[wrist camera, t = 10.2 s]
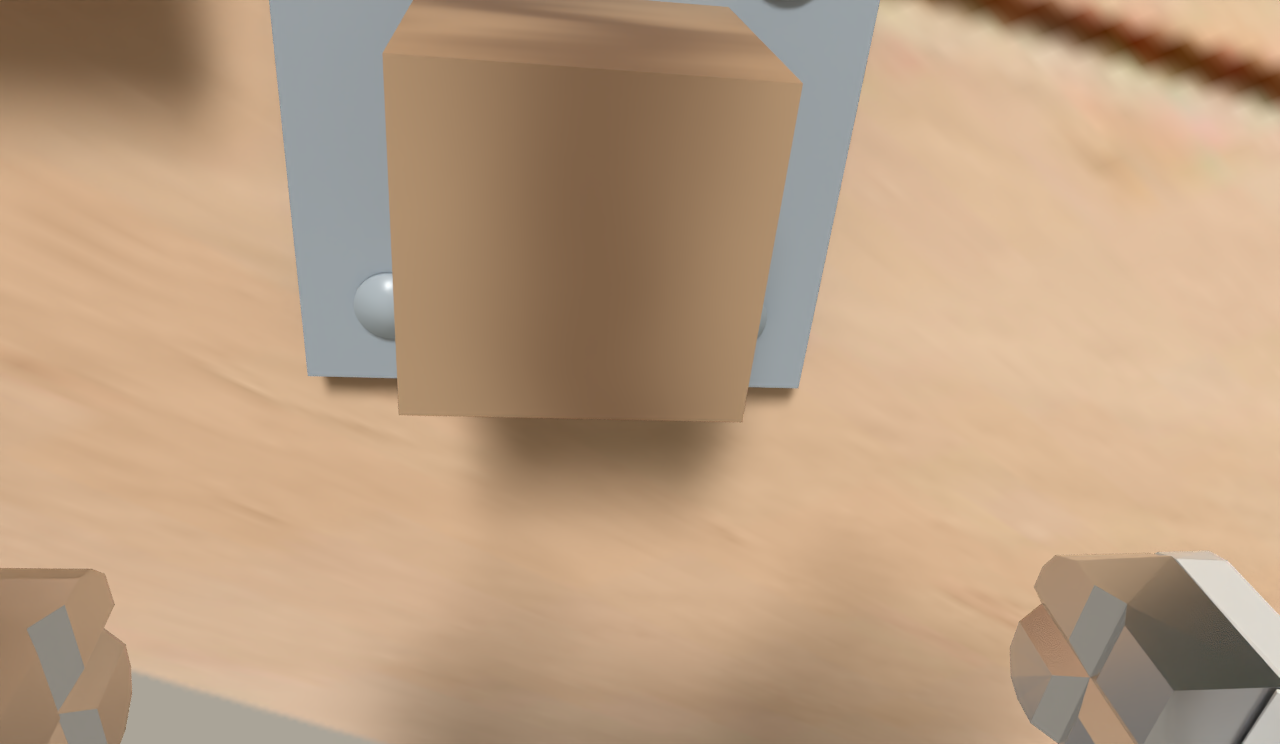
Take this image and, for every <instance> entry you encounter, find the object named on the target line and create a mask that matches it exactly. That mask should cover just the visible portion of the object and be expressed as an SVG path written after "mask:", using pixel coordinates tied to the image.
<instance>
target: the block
mask: <svg viewBox="0 0 1280 744" xmlns="http://www.w3.org/2000/svg"><path fill="white" fill-rule="evenodd" d="M382 56H383V78H384V100H385V122H386V144H387V166H388V188H389V211H390V233H391V255H392V277H393V299H394V321H395V343H396V365H397V387H398V409H399V415H417V416H465V417H513V418H561V419H608V420H656V421H704V422H742V420H743V414H744V409H745V403H746V397H747V392H748V386H749V381H750V375H751V370H752V364H753V359H754V353H755V347H756V342H757V336H758V331H759V325H760V320H761V314H762V309H763V303H764V297H765V292H766V286H767V281H768V275H769V270H770V264H771V259H772V253H773V247H774V242H775V236H776V231H777V225H778V220H779V214H780V209H781V203H782V197H783V192H784V186H785V181H786V175H787V170H788V164H789V159H790V153H791V147H792V142H793V136H794V131H795V125H796V120H797V114H798V109H799V103H800V97H801V92H802V86H803V83H802V82H801V81H800V80H799V79H798V78H797V77H796V76H795V75H794V74H793V73H792V72H791V71H790V70H789V68H788V67H787V66H786V65H785V64H784V63H783V62H782V61H781V60H780V59H779V58H778V57H777V56H776V55H775V54H774V53H773V52H772V51H771V50H770V49H769V48H768V47H767V46H766V45H765V44H764V43H763V42H762V41H761V40H760V39H759V38H758V37H757V36H756V35H755V34H754V33H753V32H752V31H751V30H750V28H749V27H748V26H747V25H746V24H745V23H744V22H743V21H742V20H741V19H740V18H739V17H738V16H737V15H736V14H735V13H734V12H733V11H732V10H731V9H730V8H729V7H722V6H710V5H698V4H686V3H674V2H661V1H649V0H413V1H412V3H411V5H410V6H409V8H408V10H407V11H406V13H405V15H404V17H403V18H402V20H401V22H400V24H399V25H398V27H397V29H396V31H395V32H394V34H393V36H392V37H391V39H390V41H389V43H388V44H387V46H386V48H385V50H384V51H383V53H382Z"/></svg>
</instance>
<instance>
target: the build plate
mask: <svg viewBox="0 0 1280 744" xmlns="http://www.w3.org/2000/svg"><path fill="white" fill-rule="evenodd" d="M412 1H413V0H269V5H270V14H271V24H272V34H273V43H274V53H275V63H276V72H277V82H278V91H279V101H280V111H281V120H282V130H283V140H284V149H285V159H286V169H287V178H288V188H289V198H290V207H291V217H292V227H293V236H294V246H295V256H296V265H297V275H298V285H299V294H300V304H301V314H302V323H303V333H304V343H305V352H306V362H307V372H308V376H328V377H368V378H397V365H396V343H395V321H394V299H393V277H392V255H391V233H390V211H389V188H388V166H387V144H386V122H385V100H384V78H383V56H382V53H383V51H384V50H385V48H386V46H387V44H388V43H389V41H390V39H391V37H392V36H393V34H394V32H395V31H396V29H397V27H398V25H399V24H400V22H401V20H402V18H403V17H404V15H405V13H406V11H407V10H408V8H409V6H410V5H411V3H412ZM649 1H661V2H674V3H686V4H698V5H710V6H722V7H729V8H730V9H731V10H732V11H733V12H734V13H735V14H736V15H737V16H738V17H739V18H740V19H741V20H742V21H743V22H744V23H745V24H746V25H747V26H748V27H749V28H750V30H751V31H752V32H753V33H754V34H755V35H756V36H757V37H758V38H759V39H760V40H761V41H762V42H763V43H764V44H765V45H766V46H767V47H768V48H769V49H770V50H771V51H772V52H773V53H774V54H775V55H776V56H777V57H778V58H779V59H780V60H781V61H782V62H783V63H784V64H785V65H786V66H787V67H788V68H789V70H790V71H791V72H792V73H793V74H794V75H795V76H796V77H797V78H798V79H799V80H800V81H801V82H802V83H803V86H802V92H801V97H800V103H799V109H798V114H797V120H796V125H795V131H794V136H793V142H792V147H791V153H790V159H789V164H788V170H787V175H786V181H785V186H784V192H783V197H782V203H781V209H780V214H779V220H778V225H777V231H776V236H775V242H774V247H773V253H772V259H771V264H770V270H769V275H768V281H767V286H766V292H765V297H764V303H763V309H762V314H761V320H760V325H759V331H758V336H757V342H756V347H755V353H754V359H753V364H752V370H751V375H750V381H749V386H748V387H767V388H798V386H799V382H800V377H801V372H802V367H803V363H804V358H805V353H806V348H807V344H808V339H809V334H810V329H811V325H812V320H813V315H814V311H815V306H816V301H817V296H818V292H819V287H820V282H821V277H822V273H823V268H824V263H825V258H826V254H827V249H828V244H829V239H830V235H831V230H832V225H833V220H834V216H835V211H836V206H837V201H838V197H839V192H840V187H841V182H842V178H843V173H844V168H845V163H846V159H847V154H848V149H849V144H850V140H851V135H852V130H853V125H854V121H855V116H856V111H857V106H858V102H859V97H860V92H861V87H862V83H863V78H864V73H865V68H866V64H867V59H868V54H869V49H870V45H871V40H872V35H873V30H874V26H875V21H876V16H877V11H878V7H879V2H880V0H649Z"/></svg>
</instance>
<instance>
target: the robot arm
mask: <svg viewBox="0 0 1280 744" xmlns="http://www.w3.org/2000/svg"><path fill="white" fill-rule="evenodd" d="M1034 588H1035V590H1036V592H1037V594H1038V597H1039V599H1040V601H1041V603H1042V604H1041V605H1039V606H1038V607H1037V608H1036V609H1034V610H1033V611H1032V612H1031V613H1029V614H1028V615H1027V616H1026V617H1024V618H1023V619H1022V620H1021V621H1019V624H1018V627H1017V629H1016V632H1015V635H1014V638H1013V640H1012V643H1011V646H1010V667H1011V679H1012V682H1013V685H1014V689H1015V692H1016V695H1017V699H1018V701H1019V703H1020V704H1021V706H1022V708H1023V710H1024V712H1025V714H1026V715H1027V717H1028V719H1029V721H1030V723H1031V724H1033V725H1034V726H1035V727H1037V728H1038V729H1039V730H1041V731H1042V732H1043V733H1045V734H1046V735H1048V736H1049V737H1050V738H1052V739H1053V740H1054V741H1056V742H1057V743H1058V744H1280V616H1279V614H1278V613H1277V612H1276V611H1275V610H1274V609H1273V608H1272V607H1271V606H1270V605H1269V604H1268V603H1267V602H1266V601H1265V600H1264V599H1263V598H1262V597H1261V596H1260V594H1259V593H1258V592H1257V591H1256V590H1255V589H1254V588H1253V587H1252V586H1251V585H1250V584H1249V583H1248V582H1247V581H1246V580H1245V579H1244V578H1243V577H1242V576H1241V574H1240V573H1239V572H1238V571H1237V570H1236V569H1235V568H1234V567H1233V566H1232V565H1231V564H1230V563H1229V562H1228V561H1227V560H1225V559H1223V558H1222V557H1220V556H1218V555H1216V554H1214V553H1212V552H1210V551H1180V552H1157V553H1154V554H1152V553H1123V554H1080V555H1055V556H1054V557H1053V558H1052V559H1051V560H1050V561H1048V562H1047V563H1046V564H1045V565H1044V566H1043V567H1042V569H1041V572H1040V574H1039V576H1038V578H1037V581H1036V583H1035V585H1034ZM114 605H115V604H114V601H113V597H112V594H111V591H110V588H109V585H108V582H107V579H106V576H105V574H103V573H101V572H98V571H96V570H93V569H41V568H0V744H120V743H121V740H122V738H123V735H124V732H125V729H126V724H127V718H128V712H129V707H130V701H131V695H132V683H131V665H130V661H129V657H128V653H127V649H126V645H125V644H124V643H123V642H122V641H120V640H119V639H118V638H117V637H115V636H114V635H113V634H111V633H110V632H109V631H107V630H106V629H105V628H104V626H105V624H106V622H107V620H108V618H109V616H110V614H111V611H112V609H113V607H114Z"/></svg>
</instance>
